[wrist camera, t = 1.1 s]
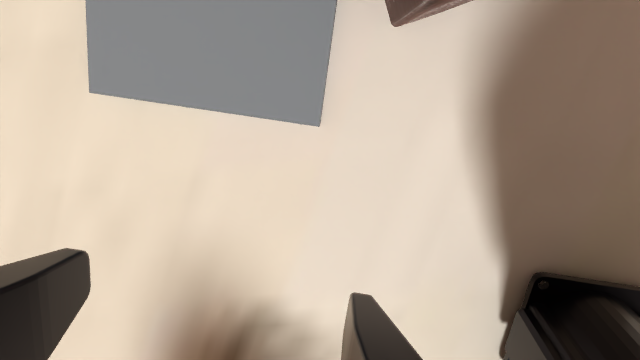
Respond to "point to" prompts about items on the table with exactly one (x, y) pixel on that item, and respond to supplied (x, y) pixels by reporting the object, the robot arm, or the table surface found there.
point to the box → (417, 9)
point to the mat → (214, 54)
